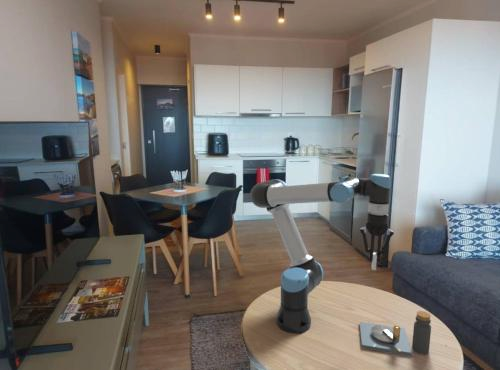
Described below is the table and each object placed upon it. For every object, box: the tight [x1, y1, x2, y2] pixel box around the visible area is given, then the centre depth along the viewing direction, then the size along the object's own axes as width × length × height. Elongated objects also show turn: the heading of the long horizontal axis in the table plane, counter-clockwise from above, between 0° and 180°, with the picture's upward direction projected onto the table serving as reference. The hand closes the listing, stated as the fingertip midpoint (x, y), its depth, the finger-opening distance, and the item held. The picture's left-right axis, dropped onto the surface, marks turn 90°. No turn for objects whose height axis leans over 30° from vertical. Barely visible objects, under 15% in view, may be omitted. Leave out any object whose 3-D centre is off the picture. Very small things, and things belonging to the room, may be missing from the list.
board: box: [359, 321, 413, 357], centre depth 135 cm, size 18×16×2 cm
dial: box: [371, 324, 401, 344], centre depth 133 cm, size 10×12×8 cm
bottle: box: [411, 310, 432, 355], centre depth 128 cm, size 6×6×15 cm
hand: (373, 268), depth 137 cm, fingers closed
